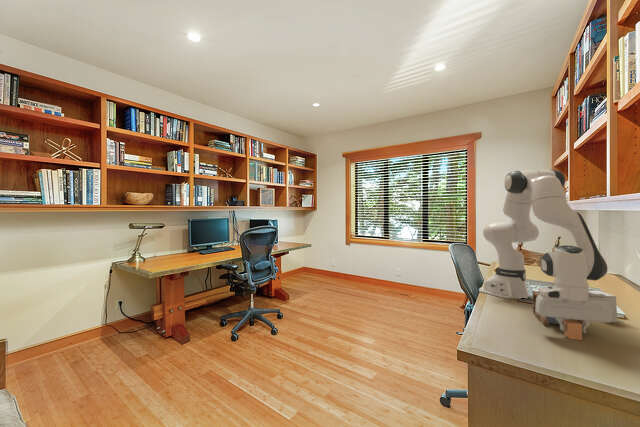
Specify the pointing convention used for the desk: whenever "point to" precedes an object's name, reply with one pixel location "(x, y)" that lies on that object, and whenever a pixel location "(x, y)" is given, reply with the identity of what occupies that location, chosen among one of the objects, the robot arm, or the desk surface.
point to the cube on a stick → (569, 327)
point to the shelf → (541, 318)
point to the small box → (613, 303)
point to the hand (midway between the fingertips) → (572, 331)
